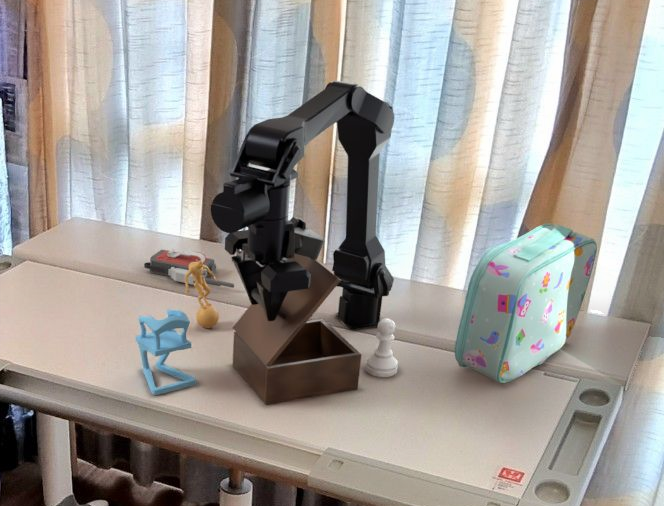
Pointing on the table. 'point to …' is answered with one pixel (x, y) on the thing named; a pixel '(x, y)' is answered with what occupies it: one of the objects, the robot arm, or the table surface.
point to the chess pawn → (383, 352)
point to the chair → (164, 347)
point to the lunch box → (524, 301)
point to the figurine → (202, 295)
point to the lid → (285, 312)
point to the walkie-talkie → (182, 266)
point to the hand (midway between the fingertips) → (263, 312)
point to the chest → (301, 365)
